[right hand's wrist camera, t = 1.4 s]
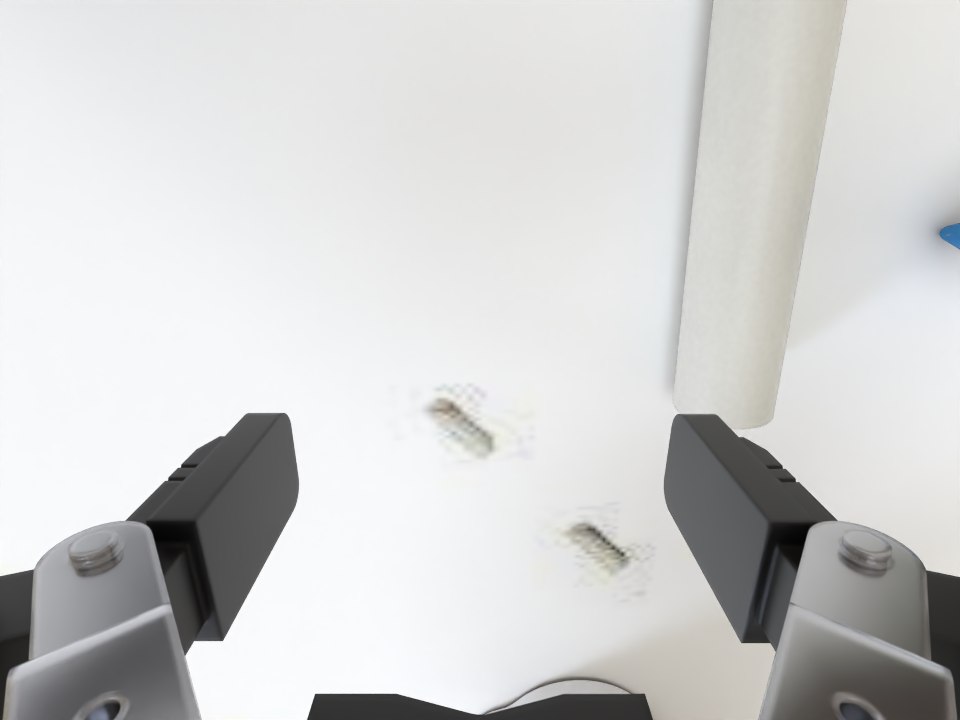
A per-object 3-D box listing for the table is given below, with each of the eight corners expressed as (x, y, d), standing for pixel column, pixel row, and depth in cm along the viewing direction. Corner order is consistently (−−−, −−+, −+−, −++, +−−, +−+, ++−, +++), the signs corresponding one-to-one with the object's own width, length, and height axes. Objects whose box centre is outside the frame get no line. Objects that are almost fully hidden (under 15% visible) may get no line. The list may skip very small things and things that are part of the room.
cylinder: (700, -46, 29) (755, -99, 23) (812, -51, 29) (896, -105, 23) (660, 390, 38) (692, 431, 32) (745, 387, 38) (793, 427, 32)
